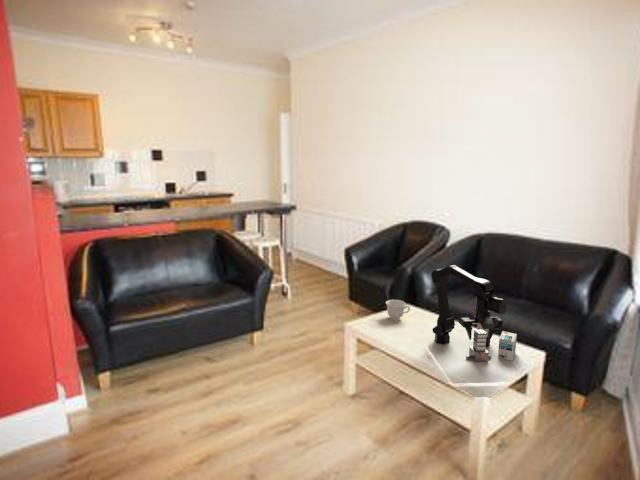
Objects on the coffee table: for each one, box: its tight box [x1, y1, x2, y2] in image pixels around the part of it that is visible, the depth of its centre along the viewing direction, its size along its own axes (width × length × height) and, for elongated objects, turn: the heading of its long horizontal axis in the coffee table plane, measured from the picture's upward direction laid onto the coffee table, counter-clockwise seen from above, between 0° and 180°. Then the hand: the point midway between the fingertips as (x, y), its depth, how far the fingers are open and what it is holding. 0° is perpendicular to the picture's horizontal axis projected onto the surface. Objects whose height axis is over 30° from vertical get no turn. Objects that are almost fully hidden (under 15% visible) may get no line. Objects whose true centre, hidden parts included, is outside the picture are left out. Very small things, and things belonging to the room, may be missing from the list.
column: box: [472, 329, 487, 352], centre depth 185 cm, size 4×4×10 cm
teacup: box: [385, 299, 411, 321], centre depth 237 cm, size 12×15×10 cm
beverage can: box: [476, 324, 491, 348], centre depth 201 cm, size 6×6×15 cm
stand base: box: [465, 345, 492, 363], centre depth 187 cm, size 12×12×6 cm
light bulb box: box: [497, 330, 518, 362], centre depth 190 cm, size 11×7×11 cm, turn 148°
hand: (479, 339), depth 185 cm, fingers open, 9 cm apart
